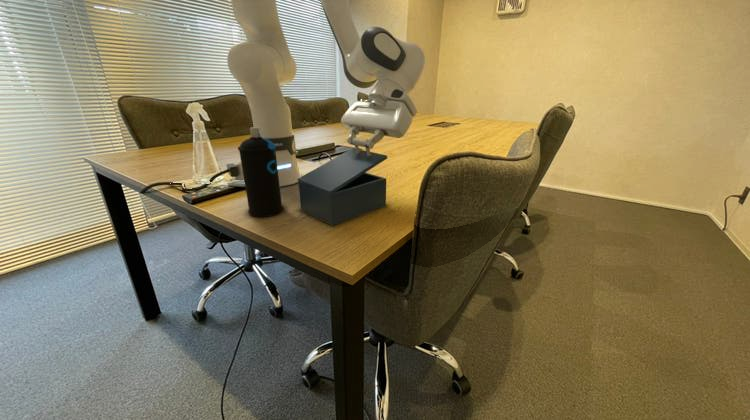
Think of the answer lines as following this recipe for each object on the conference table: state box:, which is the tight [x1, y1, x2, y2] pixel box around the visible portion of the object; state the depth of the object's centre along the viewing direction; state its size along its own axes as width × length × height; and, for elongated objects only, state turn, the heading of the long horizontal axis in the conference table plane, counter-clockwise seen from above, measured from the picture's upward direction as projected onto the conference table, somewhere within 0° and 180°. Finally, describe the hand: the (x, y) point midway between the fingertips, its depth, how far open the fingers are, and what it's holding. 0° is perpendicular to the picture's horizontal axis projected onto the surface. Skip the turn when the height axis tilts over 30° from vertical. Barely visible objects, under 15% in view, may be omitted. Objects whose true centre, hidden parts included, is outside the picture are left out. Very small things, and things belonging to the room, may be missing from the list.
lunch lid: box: [297, 137, 388, 195], centre depth 72 cm, size 18×13×5 cm
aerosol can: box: [237, 126, 284, 218], centre depth 71 cm, size 8×8×20 cm
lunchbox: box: [297, 172, 387, 227], centre depth 76 cm, size 18×13×7 cm
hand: (358, 145), depth 75 cm, fingers closed on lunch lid, 5 cm apart
